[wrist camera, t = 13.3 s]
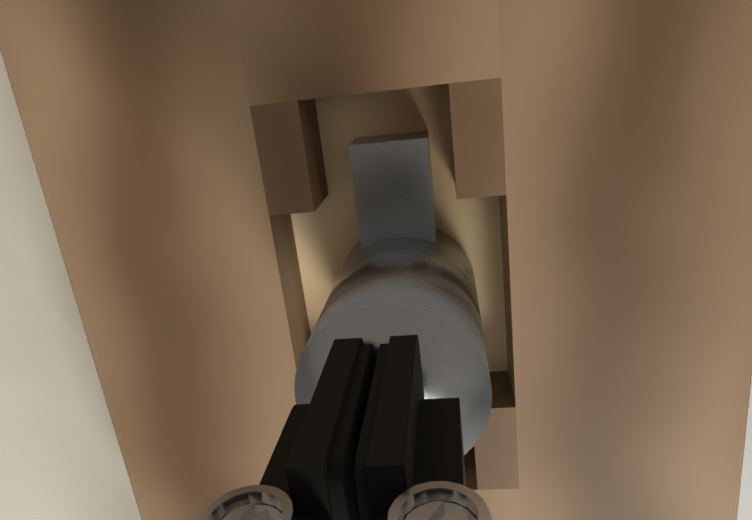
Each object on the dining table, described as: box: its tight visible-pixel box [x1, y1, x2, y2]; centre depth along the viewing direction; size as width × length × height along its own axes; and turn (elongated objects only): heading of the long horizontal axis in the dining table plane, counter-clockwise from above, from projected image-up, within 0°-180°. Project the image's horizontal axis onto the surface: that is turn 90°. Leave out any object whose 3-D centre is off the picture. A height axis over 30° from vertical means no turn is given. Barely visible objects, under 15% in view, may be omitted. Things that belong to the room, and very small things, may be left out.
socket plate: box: [0, 0, 752, 520], centre depth 17 cm, size 18×18×2 cm
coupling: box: [294, 131, 492, 455], centre depth 15 cm, size 9×4×6 cm, turn 7°
